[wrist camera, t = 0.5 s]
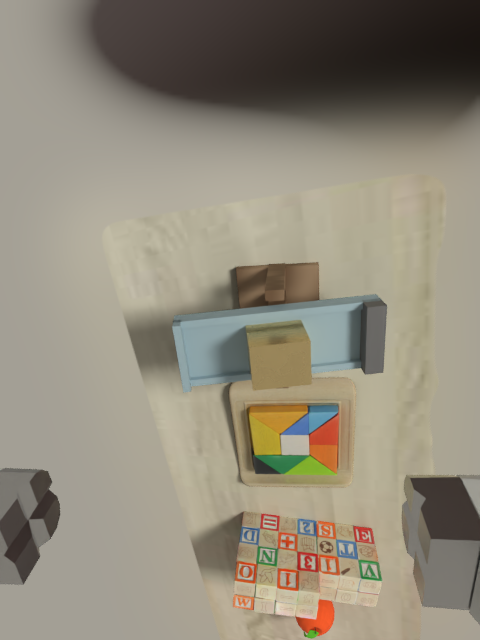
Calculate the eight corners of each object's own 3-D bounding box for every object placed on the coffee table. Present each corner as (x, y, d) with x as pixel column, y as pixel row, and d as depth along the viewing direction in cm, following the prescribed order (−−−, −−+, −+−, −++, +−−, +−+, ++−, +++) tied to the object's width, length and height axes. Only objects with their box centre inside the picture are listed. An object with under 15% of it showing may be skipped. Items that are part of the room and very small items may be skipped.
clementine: (320, 611, 80) (323, 653, 74) (286, 599, 80) (285, 641, 74) (339, 586, 77) (343, 629, 71) (303, 574, 77) (304, 616, 70)
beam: (376, 294, 47) (386, 305, 44) (373, 358, 50) (383, 372, 47) (174, 315, 46) (171, 328, 43) (185, 378, 50) (183, 394, 47)
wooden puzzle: (241, 476, 69) (238, 494, 66) (229, 377, 61) (225, 391, 58) (352, 478, 67) (355, 496, 64) (354, 374, 59) (357, 389, 56)
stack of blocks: (372, 526, 70) (388, 603, 59) (366, 552, 73) (379, 630, 62) (242, 510, 72) (233, 582, 61) (240, 536, 74) (232, 609, 63)
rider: (300, 319, 46) (310, 340, 41) (302, 359, 48) (311, 384, 44) (245, 325, 46) (249, 347, 41) (249, 365, 48) (253, 390, 43)
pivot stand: (318, 261, 52) (322, 287, 44) (319, 349, 57) (324, 387, 49) (236, 266, 53) (226, 292, 45) (245, 351, 58) (237, 388, 50)
